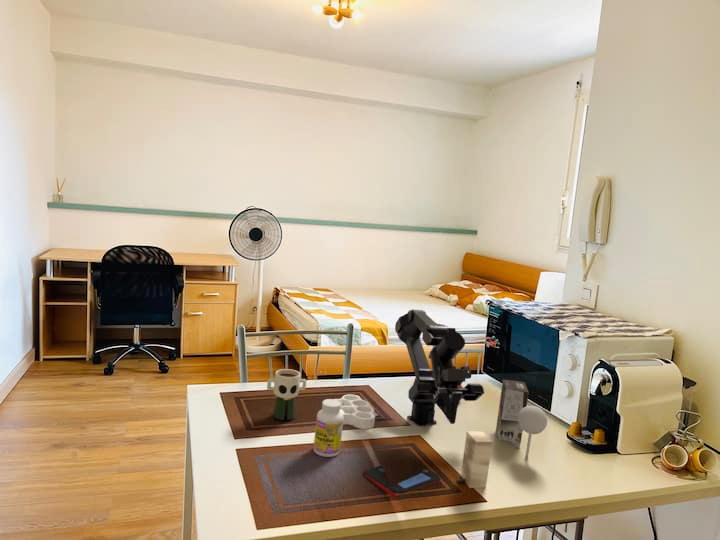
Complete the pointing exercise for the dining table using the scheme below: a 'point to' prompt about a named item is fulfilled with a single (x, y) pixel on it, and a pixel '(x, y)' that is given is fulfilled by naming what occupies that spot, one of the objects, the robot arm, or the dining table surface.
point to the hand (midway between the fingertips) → (453, 423)
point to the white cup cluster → (357, 412)
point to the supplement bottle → (328, 429)
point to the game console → (405, 486)
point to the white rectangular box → (476, 459)
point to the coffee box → (511, 411)
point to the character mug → (286, 392)
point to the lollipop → (532, 422)
